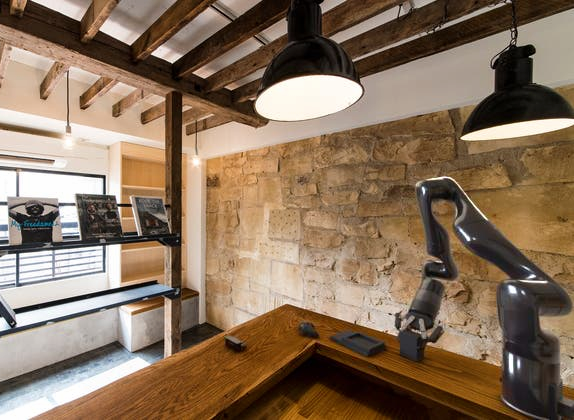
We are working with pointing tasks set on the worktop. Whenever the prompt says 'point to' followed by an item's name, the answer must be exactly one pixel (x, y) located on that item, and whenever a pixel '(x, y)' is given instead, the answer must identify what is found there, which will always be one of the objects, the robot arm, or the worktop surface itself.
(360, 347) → the pad
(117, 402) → the worktop surface
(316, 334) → the game controller
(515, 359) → the robot arm
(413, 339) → the dark grey rectangular block
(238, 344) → the wireless earbuds
